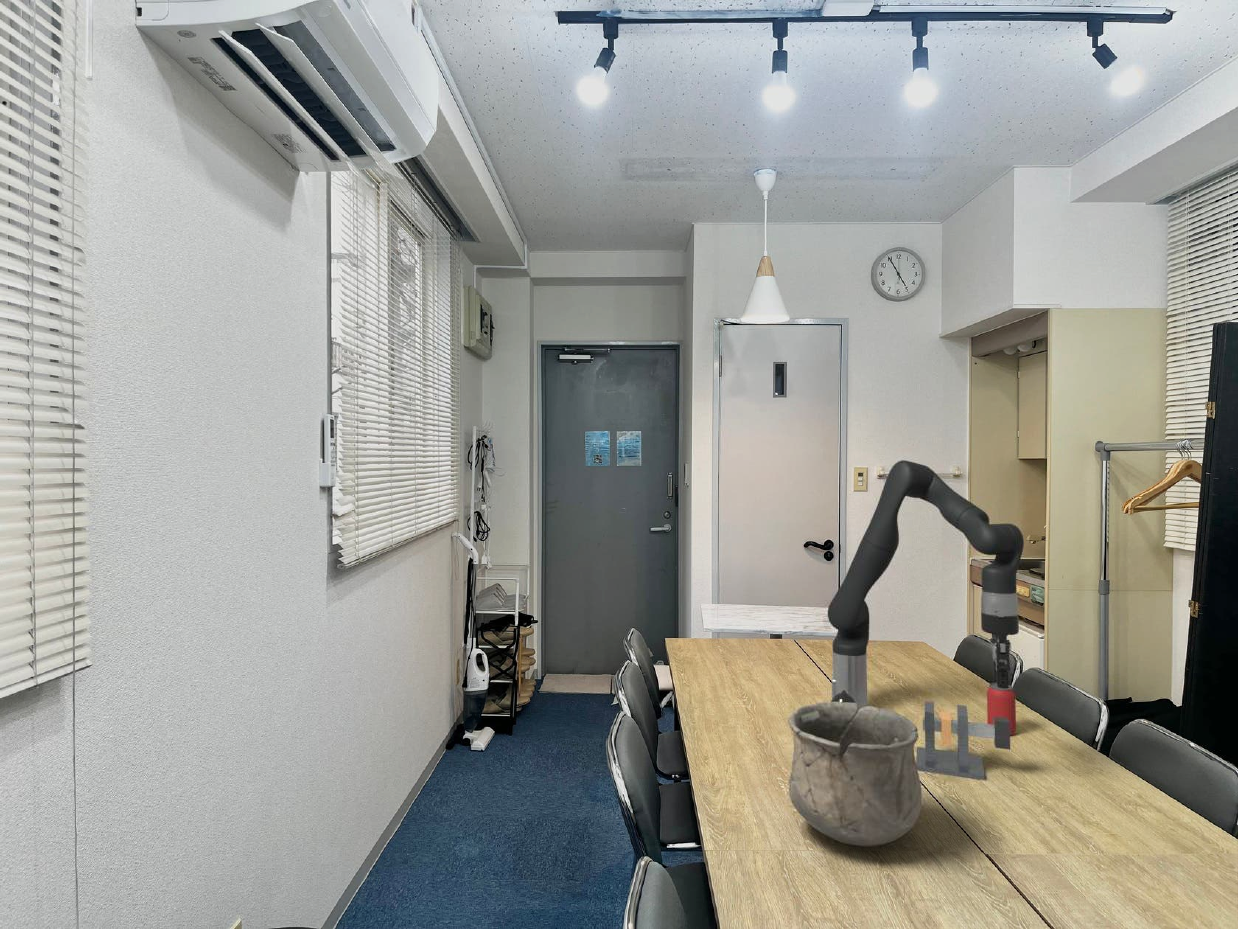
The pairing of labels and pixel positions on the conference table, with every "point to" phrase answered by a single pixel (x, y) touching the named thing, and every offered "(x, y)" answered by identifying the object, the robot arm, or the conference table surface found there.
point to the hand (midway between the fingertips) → (1001, 682)
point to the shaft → (982, 730)
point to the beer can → (1001, 705)
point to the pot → (855, 772)
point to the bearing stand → (948, 760)
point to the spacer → (946, 728)
